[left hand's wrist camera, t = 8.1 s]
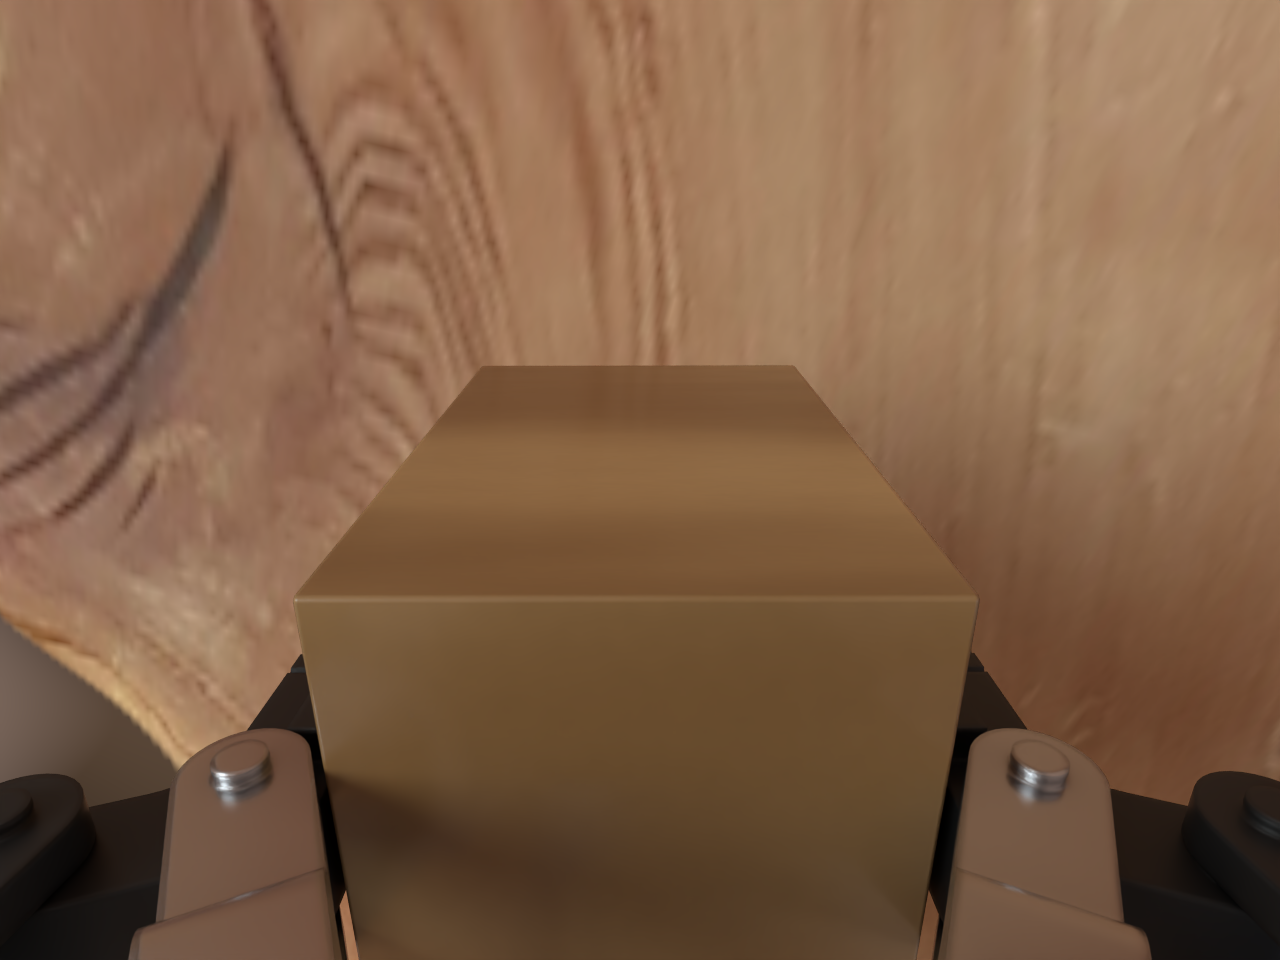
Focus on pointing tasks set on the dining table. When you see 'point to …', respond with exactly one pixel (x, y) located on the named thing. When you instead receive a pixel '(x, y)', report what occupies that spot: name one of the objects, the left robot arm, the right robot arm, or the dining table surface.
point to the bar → (637, 678)
